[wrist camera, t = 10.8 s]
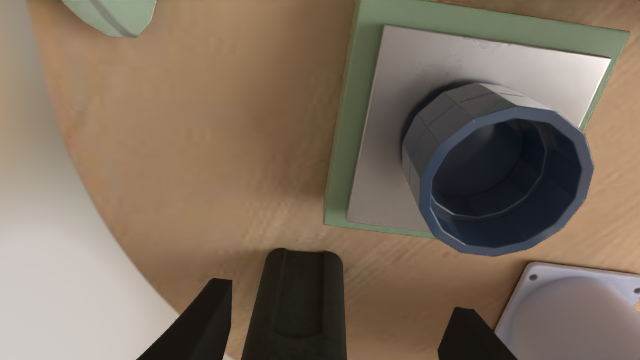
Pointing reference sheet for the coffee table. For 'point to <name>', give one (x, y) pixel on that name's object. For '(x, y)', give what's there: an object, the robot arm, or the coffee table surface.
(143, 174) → the coffee table surface
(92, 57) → the coffee table surface
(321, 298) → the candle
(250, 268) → the coffee table surface
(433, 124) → the bowl
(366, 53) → the scale
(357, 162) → the pan
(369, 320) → the coffee table surface
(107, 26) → the robot head
